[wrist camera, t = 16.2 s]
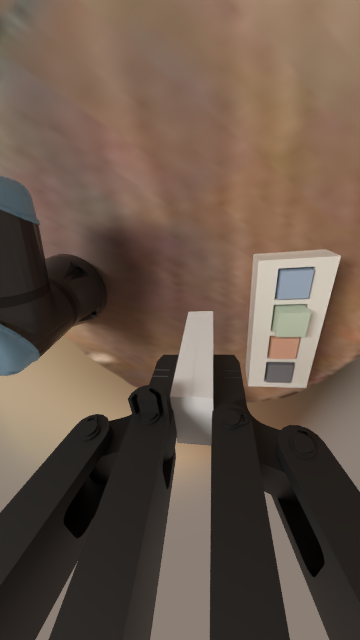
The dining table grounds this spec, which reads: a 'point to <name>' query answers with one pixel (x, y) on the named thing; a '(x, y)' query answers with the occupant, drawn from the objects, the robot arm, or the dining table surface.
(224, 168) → the dining table surface
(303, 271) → the slate key
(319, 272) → the keypad
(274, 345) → the terracotta key
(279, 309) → the sage key
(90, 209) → the dining table surface
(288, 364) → the charcoal key
